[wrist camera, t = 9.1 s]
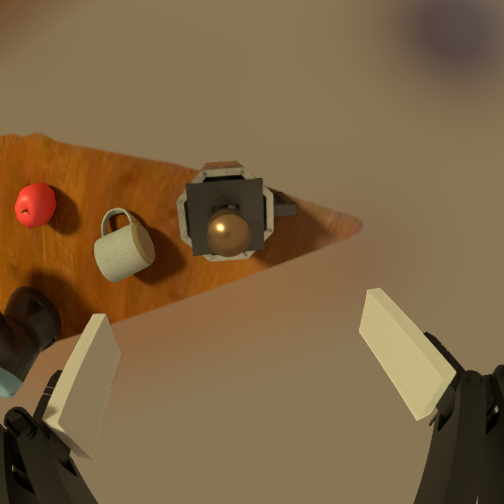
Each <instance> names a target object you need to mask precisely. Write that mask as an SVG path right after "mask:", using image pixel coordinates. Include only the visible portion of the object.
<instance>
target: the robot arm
mask: <svg viewBox="0 0 504 504" xmlns="http://www.w3.org/2000/svg"><path fill="white" fill-rule="evenodd" d="M60 333H61V323H60V319H59V317H58V314H57V312H56V310H55V309H54V307H53V306H52V304H51V303H50V302H49V301H48V300H47V298H46V297H44V296H43V295H42V294H41V293H40V292H38V291H37V290H35V289H33V288H30V287H26V286H22V287H19V288H17V289H16V290H15V291H14V292H13V293H12V294H11V296H10V298H9V301H8V303H7V305H6V308H5V311H4V313H3V315H2V313H1V311H0V396H1V397H4V398H13V397H14V396H15V395H16V394H17V392H18V391H19V389H20V388H21V387H22V386H23V382H24V380H25V378H26V377H27V375H28V373H29V371H30V369H31V367H32V366H33V364H34V362H35V360H36V359H37V357H38V355H39V354H40V353H41V352H43V351H44V350H46V349H47V348H48V347H50V346H51V345H53V344H54V343H55V342H56V340H57V339H58V337H59V335H60ZM359 333H360V334H361V335H362V337H363V338H364V340H365V341H366V343H367V344H368V346H369V347H370V349H371V350H372V352H373V353H374V355H375V356H376V358H377V359H378V361H379V362H380V364H381V365H382V367H383V368H384V370H385V371H386V373H387V374H388V376H389V377H390V379H391V381H392V382H393V384H394V385H395V387H396V388H397V390H398V392H399V393H400V395H401V396H402V398H403V400H404V401H405V403H406V404H407V406H408V408H409V409H410V411H411V412H412V414H413V416H414V417H415V419H416V421H417V420H420V419H421V418H424V417H426V416H428V415H429V414H430V413H431V412H432V411H433V409H434V408H435V406H436V408H437V409H438V412H437V414H436V415H435V416H434V417H433V419H432V420H431V422H430V424H429V426H431V425H432V423H433V422H434V421H435V424H434V430H433V435H432V440H431V444H430V449H429V454H428V457H427V462H426V465H425V469H424V473H423V476H422V480H421V483H420V486H419V489H418V492H417V495H416V498H415V501H414V504H476V501H477V496H478V504H504V365H499V366H497V368H496V369H495V370H494V372H493V374H489V375H484V376H482V375H480V374H479V373H478V372H476V371H472V370H468V371H465V370H464V369H463V368H462V366H461V365H460V364H459V363H458V362H457V361H456V359H455V358H454V357H453V356H452V355H451V354H450V353H449V351H447V349H446V348H445V347H444V346H442V344H441V343H440V342H439V341H438V339H437V338H436V337H434V336H433V335H431V334H429V333H428V332H425V333H422V332H421V331H420V330H419V329H418V328H417V326H416V325H415V324H414V323H413V322H412V321H411V320H410V319H409V318H408V317H407V316H406V315H405V314H404V312H402V310H400V308H399V307H398V306H397V305H396V304H395V303H394V302H393V301H392V300H391V299H390V298H389V297H388V296H387V295H386V294H385V293H384V292H383V291H382V290H381V289H380V288H376V289H370V290H367V295H366V301H365V306H364V311H363V316H362V320H361V325H360V329H359ZM121 356H122V354H121V352H120V349H119V347H118V344H117V342H116V339H115V337H114V334H113V331H112V329H111V326H110V323H109V321H108V318H107V315H106V314H93V315H92V317H91V319H90V320H89V322H88V324H87V326H86V328H85V329H84V331H83V333H82V335H81V337H80V338H79V340H78V342H77V344H76V346H75V348H74V350H73V352H72V354H71V356H70V358H69V360H68V362H67V364H66V366H65V368H64V370H63V371H62V370H57V371H56V372H55V373H54V374H53V375H52V376H51V378H50V380H49V382H48V384H47V388H45V390H44V392H43V395H42V397H41V399H40V401H39V403H38V406H37V408H36V410H35V413H34V415H33V417H31V415H30V414H29V413H28V412H27V411H26V410H25V409H24V408H23V407H13V408H12V409H10V410H9V411H8V412H7V413H6V415H5V418H4V425H5V426H6V427H7V429H5V428H4V427H3V426H2V425H1V424H0V504H98V503H97V501H96V500H95V498H94V496H93V495H92V493H91V492H90V490H89V488H88V487H87V485H86V483H85V482H84V480H83V478H82V476H81V475H80V473H79V471H78V469H77V467H76V465H75V463H74V461H73V459H72V458H71V457H70V456H69V455H70V451H71V450H72V451H73V452H74V453H75V454H76V455H77V456H79V457H83V458H87V459H92V460H93V457H94V452H95V448H96V444H97V439H98V435H99V431H100V427H101V423H102V419H103V416H104V412H105V408H106V405H107V401H108V398H109V394H110V391H111V388H112V384H113V381H114V378H115V374H116V371H117V368H118V365H119V362H120V359H121ZM496 406H498V410H499V411H498V412H497V413H496V412H495V408H496ZM12 466H13V471H12Z"/></svg>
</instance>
